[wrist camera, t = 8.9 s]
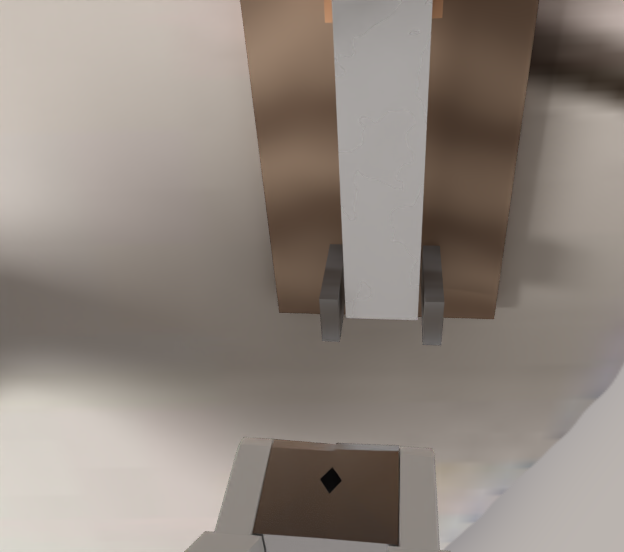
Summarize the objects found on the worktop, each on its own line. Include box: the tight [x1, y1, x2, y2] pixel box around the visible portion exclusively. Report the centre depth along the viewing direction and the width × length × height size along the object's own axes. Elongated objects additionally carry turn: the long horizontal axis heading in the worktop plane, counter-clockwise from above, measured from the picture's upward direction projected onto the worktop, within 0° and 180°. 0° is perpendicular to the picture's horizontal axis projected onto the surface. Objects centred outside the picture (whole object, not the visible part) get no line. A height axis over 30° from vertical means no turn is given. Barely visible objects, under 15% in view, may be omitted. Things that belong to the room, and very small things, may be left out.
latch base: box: [240, 0, 539, 345], centre depth 30 cm, size 26×14×7 cm, turn 4°
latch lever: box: [332, 0, 433, 320], centre depth 29 cm, size 18×4×1 cm, turn 4°
